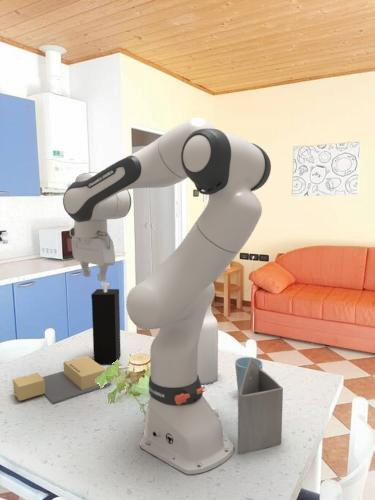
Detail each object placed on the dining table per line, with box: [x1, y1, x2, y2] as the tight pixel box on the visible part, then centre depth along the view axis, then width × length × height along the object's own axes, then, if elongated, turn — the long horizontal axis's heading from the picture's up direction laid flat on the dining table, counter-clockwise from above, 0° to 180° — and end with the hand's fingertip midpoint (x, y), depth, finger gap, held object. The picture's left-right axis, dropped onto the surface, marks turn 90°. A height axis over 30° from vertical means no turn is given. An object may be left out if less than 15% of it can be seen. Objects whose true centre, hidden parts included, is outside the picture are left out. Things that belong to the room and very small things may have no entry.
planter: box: [237, 356, 284, 455], centre depth 92 cm, size 16×8×19 cm, turn 154°
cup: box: [234, 356, 264, 396], centre depth 112 cm, size 8×8×10 cm
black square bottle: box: [90, 281, 122, 365], centre depth 138 cm, size 8×8×28 cm
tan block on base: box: [41, 355, 112, 405], centre depth 122 cm, size 18×18×5 cm
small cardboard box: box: [12, 372, 45, 401], centre depth 114 cm, size 6×7×4 cm
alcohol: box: [197, 303, 219, 385], centre depth 123 cm, size 9×9×30 cm
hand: (94, 278), depth 115 cm, fingers open, 8 cm apart
